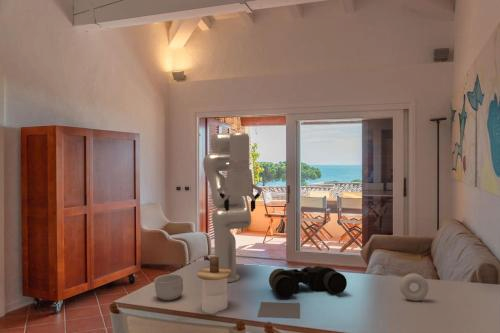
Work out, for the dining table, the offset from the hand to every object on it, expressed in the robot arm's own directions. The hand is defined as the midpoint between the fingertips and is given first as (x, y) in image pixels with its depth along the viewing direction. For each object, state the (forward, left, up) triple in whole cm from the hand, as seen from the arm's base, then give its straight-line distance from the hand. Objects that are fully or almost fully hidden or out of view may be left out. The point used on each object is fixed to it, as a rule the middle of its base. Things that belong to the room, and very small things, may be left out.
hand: (239, 210), depth 148 cm
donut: (-4, +64, -34) cm, 73 cm away
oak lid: (+11, -8, -22) cm, 25 cm away
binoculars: (-12, +23, -34) cm, 43 cm away
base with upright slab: (+11, -8, -34) cm, 36 cm away
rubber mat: (+12, +15, -34) cm, 39 cm away
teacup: (0, -28, -34) cm, 44 cm away
